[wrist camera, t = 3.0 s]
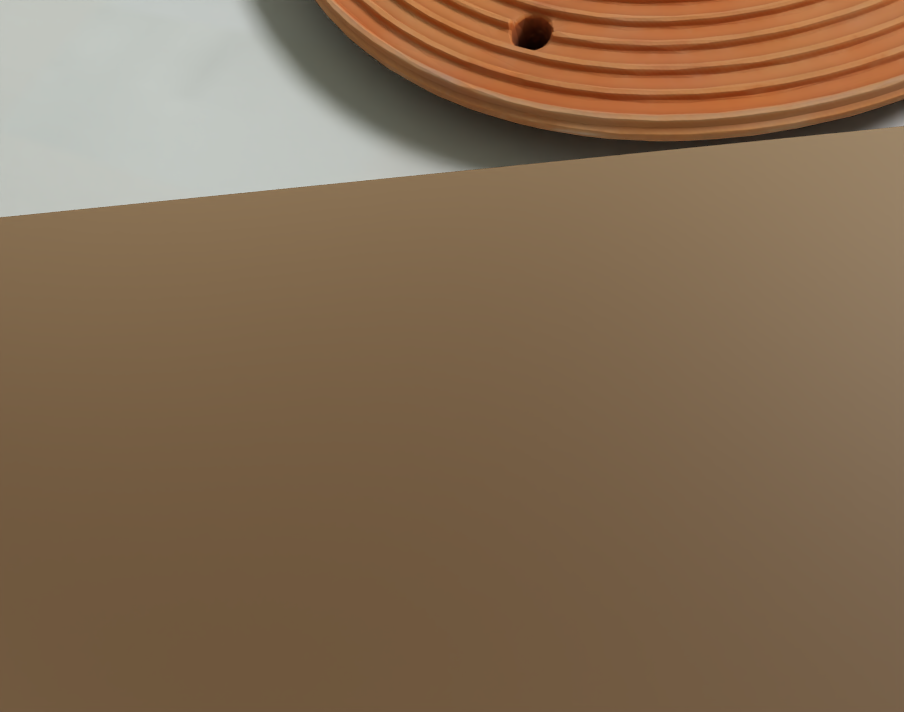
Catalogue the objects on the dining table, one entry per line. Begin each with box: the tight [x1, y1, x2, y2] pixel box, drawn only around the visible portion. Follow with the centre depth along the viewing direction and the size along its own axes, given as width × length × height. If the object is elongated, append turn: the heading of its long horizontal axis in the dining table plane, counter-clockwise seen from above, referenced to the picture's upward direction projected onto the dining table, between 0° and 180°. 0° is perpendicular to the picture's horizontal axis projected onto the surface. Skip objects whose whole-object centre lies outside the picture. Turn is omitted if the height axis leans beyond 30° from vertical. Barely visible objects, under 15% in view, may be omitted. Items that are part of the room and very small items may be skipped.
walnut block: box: [0, 126, 904, 712], centre depth 9 cm, size 4×5×13 cm
